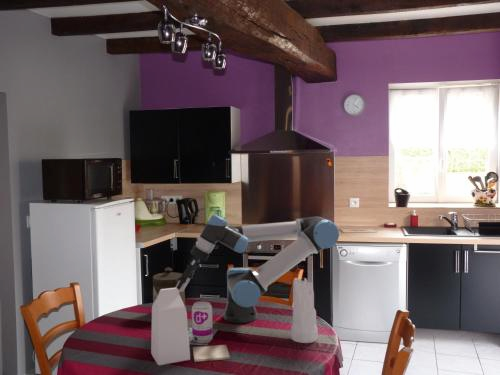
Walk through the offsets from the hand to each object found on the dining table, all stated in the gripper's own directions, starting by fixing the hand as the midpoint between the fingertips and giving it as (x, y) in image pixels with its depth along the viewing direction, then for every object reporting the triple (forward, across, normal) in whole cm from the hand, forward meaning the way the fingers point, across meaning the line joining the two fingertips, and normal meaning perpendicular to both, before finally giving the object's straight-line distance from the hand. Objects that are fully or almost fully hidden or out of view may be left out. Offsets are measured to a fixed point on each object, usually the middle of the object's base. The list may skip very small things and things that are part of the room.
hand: (177, 292), depth 221 cm
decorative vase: (-11, +4, +55) cm, 56 cm away
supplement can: (+10, +6, +19) cm, 22 cm away
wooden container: (+17, -27, 0) cm, 32 cm away
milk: (+17, +23, +12) cm, 31 cm away
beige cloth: (+9, +20, +24) cm, 33 cm away
